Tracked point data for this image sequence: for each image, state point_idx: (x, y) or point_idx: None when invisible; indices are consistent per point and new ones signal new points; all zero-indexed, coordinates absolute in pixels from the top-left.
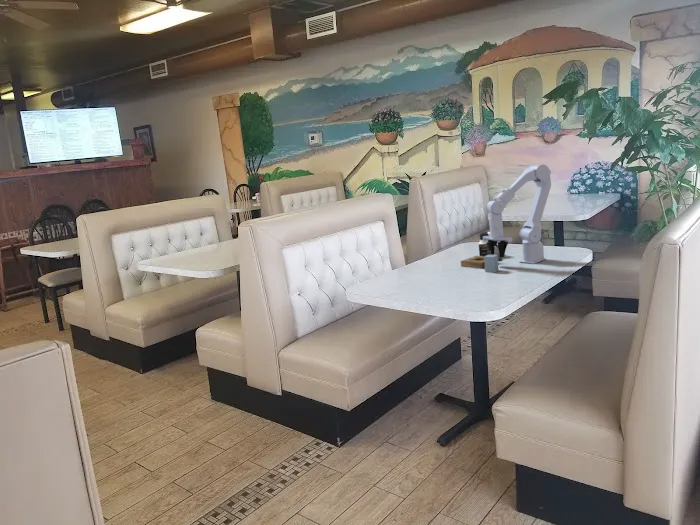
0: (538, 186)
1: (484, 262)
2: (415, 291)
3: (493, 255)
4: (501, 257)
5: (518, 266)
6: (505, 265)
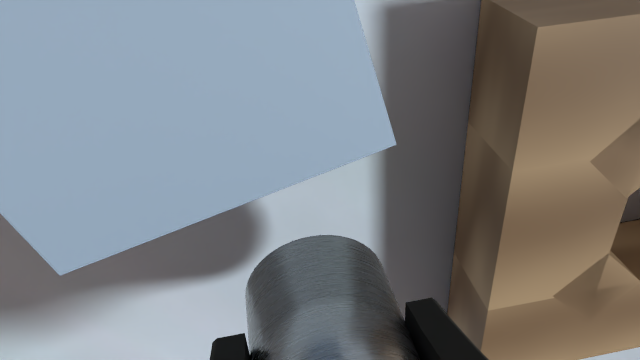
0: None
1: (515, 121)
2: None
3: (69, 133)
4: (218, 338)
5: (72, 342)
6: None
